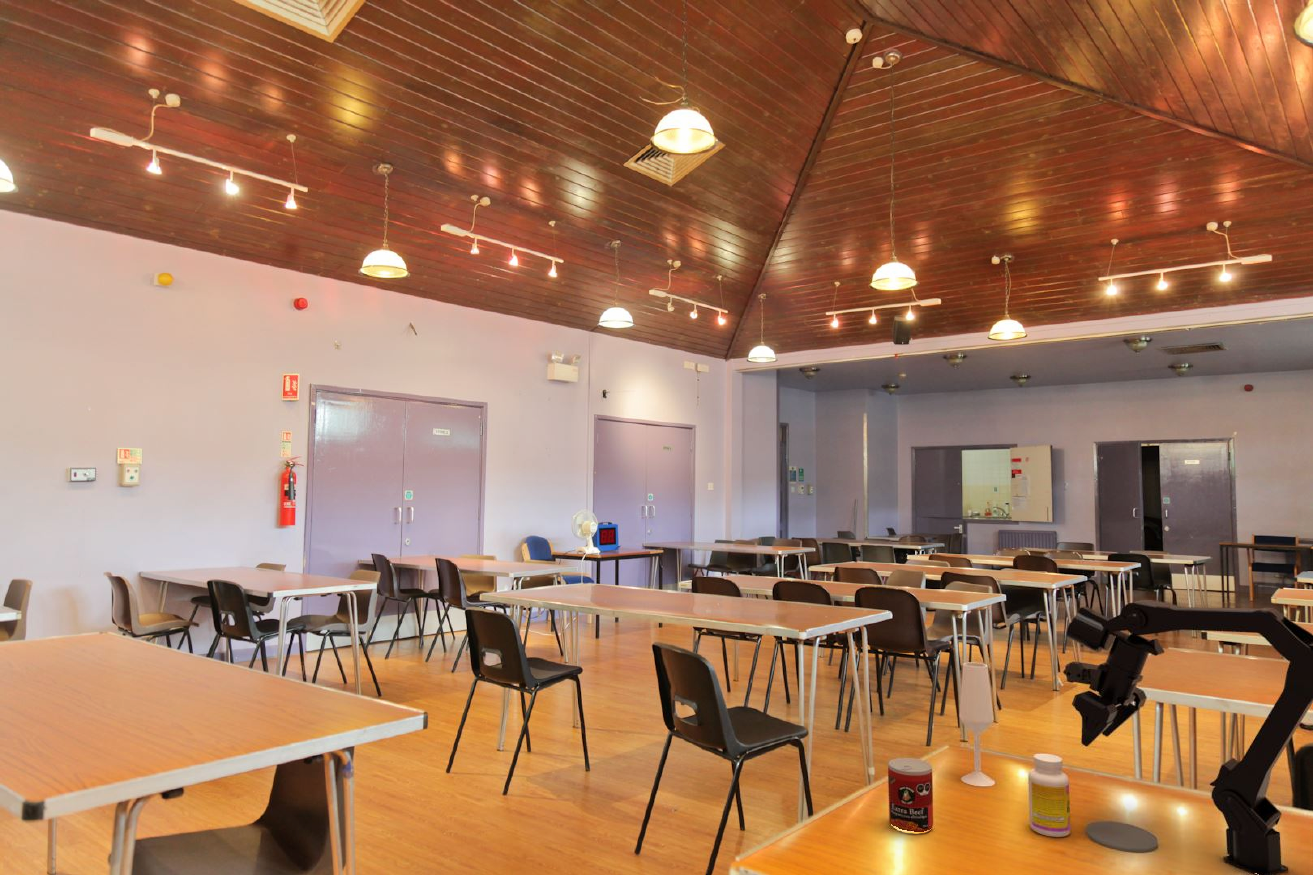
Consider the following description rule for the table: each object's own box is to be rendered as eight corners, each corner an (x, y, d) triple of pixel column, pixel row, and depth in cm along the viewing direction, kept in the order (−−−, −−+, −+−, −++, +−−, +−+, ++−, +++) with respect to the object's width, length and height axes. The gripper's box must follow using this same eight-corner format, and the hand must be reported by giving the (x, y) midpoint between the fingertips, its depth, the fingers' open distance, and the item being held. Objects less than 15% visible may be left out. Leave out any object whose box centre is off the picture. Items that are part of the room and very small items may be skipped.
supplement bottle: (1075, 839, 143) (1073, 764, 144) (1034, 836, 145) (1032, 762, 145) (1064, 824, 150) (1062, 752, 151) (1025, 821, 151) (1023, 750, 152)
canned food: (884, 830, 147) (883, 767, 148) (894, 814, 154) (893, 754, 155) (929, 838, 144) (927, 774, 144) (936, 822, 151) (935, 761, 152)
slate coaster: (1173, 846, 141) (1172, 841, 141) (1126, 856, 137) (1126, 851, 137) (1116, 821, 151) (1116, 817, 151) (1071, 830, 147) (1071, 826, 147)
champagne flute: (971, 772, 177) (968, 659, 178) (1001, 781, 172) (998, 665, 173) (954, 779, 173) (952, 664, 174) (984, 788, 167) (981, 669, 169)
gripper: (1100, 637, 161) (1073, 707, 164) (1058, 649, 149) (1030, 724, 152) (1160, 666, 153) (1130, 739, 156) (1121, 681, 141) (1090, 760, 144)
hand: (1094, 739), depth 152 cm, fingers open, 9 cm apart
